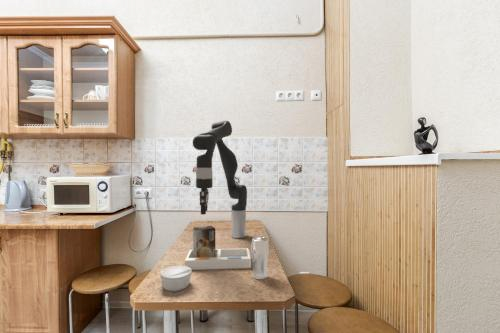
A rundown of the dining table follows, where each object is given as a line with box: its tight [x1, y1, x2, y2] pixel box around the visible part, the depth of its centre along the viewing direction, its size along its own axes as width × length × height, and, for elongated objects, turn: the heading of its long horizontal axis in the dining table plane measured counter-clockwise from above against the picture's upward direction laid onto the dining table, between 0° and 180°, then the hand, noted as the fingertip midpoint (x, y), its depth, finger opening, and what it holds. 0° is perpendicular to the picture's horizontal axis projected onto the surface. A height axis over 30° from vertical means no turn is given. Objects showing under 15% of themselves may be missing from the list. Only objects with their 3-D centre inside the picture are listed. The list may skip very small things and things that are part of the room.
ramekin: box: [160, 265, 193, 292], centre depth 91 cm, size 11×11×5 cm
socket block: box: [184, 247, 252, 271], centre depth 114 cm, size 14×28×4 cm, turn 95°
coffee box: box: [192, 225, 216, 258], centre depth 114 cm, size 9×6×16 cm
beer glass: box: [250, 236, 270, 281], centre depth 99 cm, size 7×7×15 cm
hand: (204, 212), depth 114 cm, fingers open, 8 cm apart
